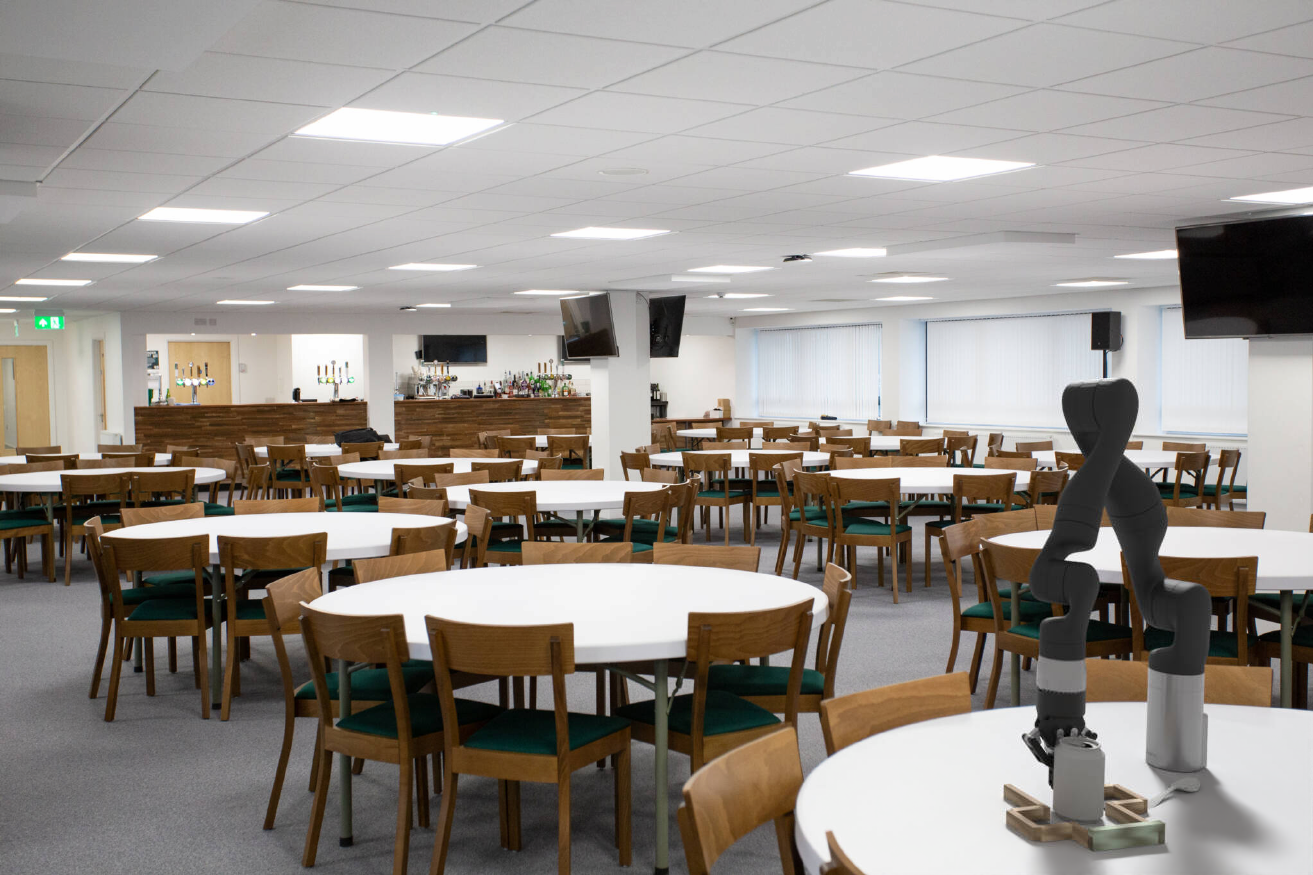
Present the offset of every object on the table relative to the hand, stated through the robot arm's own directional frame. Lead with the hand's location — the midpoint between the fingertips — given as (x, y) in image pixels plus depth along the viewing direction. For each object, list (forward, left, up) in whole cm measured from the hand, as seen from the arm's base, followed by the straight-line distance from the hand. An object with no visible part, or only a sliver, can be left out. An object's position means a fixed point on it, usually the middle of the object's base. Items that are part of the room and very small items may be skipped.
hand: (1058, 790), depth 180 cm
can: (0, +5, -3) cm, 6 cm away
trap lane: (0, +5, -3) cm, 6 cm away
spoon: (-20, +1, -3) cm, 20 cm away
